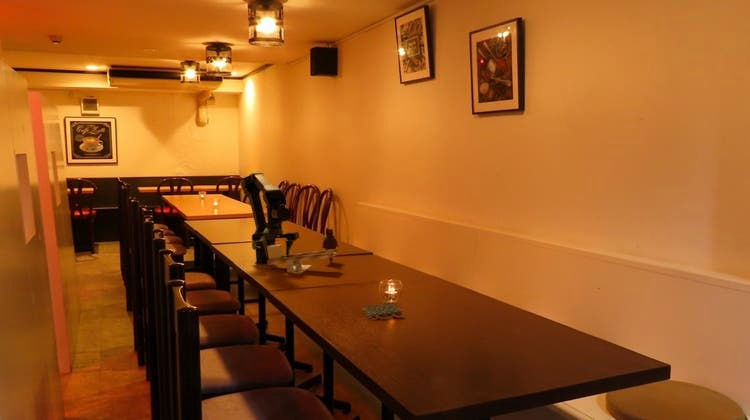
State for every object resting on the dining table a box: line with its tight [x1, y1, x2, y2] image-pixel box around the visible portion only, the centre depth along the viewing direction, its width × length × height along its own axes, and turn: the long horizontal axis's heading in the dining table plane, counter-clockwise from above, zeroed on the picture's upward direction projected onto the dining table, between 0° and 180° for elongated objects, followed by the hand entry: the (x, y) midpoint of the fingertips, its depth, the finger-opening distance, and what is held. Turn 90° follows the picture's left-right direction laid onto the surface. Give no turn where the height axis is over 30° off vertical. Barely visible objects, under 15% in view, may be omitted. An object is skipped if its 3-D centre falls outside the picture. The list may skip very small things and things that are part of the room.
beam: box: [266, 248, 339, 266], centre depth 240 cm, size 28×8×2 cm, turn 80°
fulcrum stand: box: [286, 261, 313, 275], centre depth 241 cm, size 10×16×5 cm, turn 170°
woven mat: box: [361, 303, 405, 321], centre depth 176 cm, size 10×11×2 cm
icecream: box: [321, 227, 339, 263], centre depth 256 cm, size 7×7×15 cm
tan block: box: [267, 243, 285, 260], centre depth 242 cm, size 5×5×6 cm
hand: (276, 256), depth 242 cm, fingers open, 9 cm apart
